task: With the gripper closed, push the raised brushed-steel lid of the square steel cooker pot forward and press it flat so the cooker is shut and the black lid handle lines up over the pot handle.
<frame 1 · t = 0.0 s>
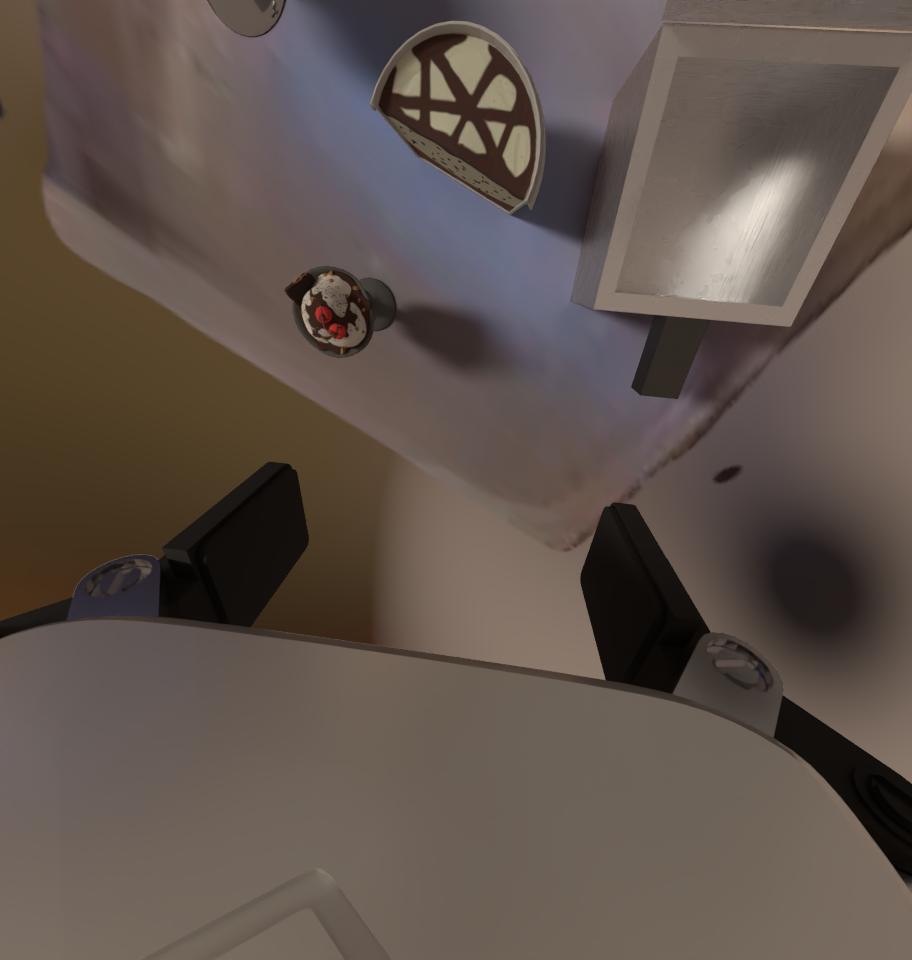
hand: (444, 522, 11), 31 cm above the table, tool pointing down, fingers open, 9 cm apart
cooker pot: (670, 218, 31), on the table
sundae: (373, 305, 37), on the table
food container: (481, 145, 30), on the table
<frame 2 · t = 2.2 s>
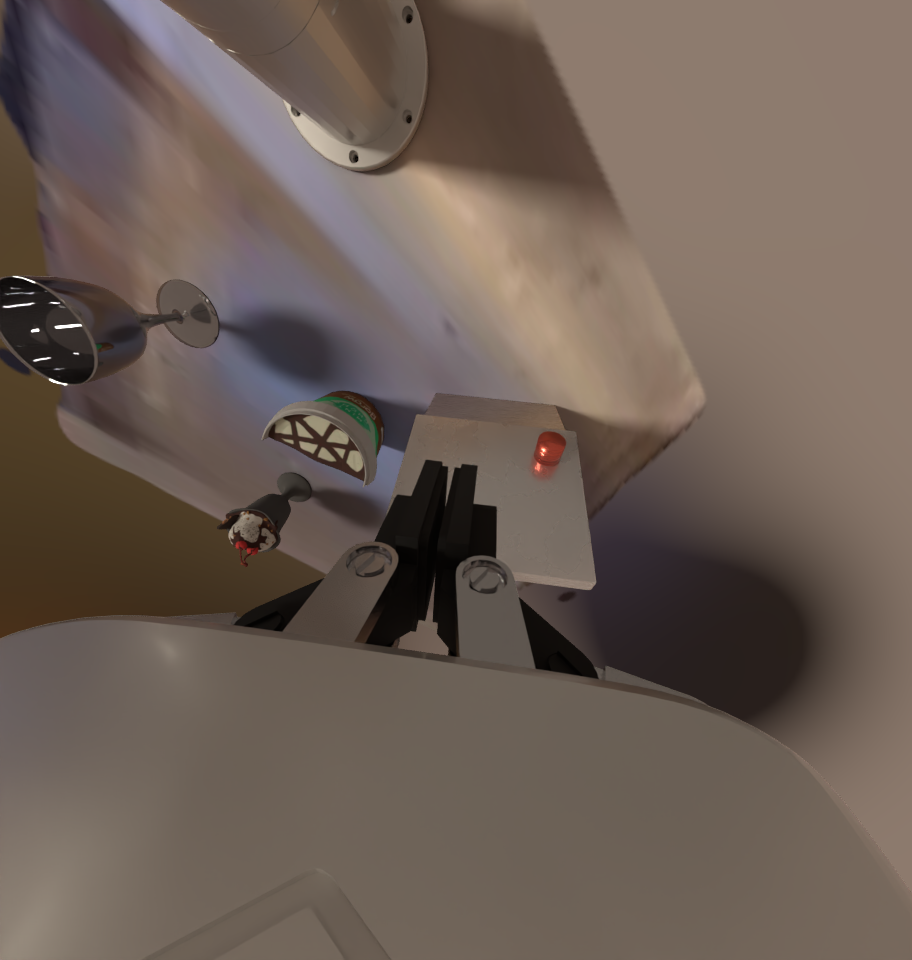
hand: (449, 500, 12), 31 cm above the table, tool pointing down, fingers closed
wine glass: (189, 315, 41), on the table
cooker pot: (487, 452, 45), on the table
sundae: (295, 486, 51), on the table
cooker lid: (488, 513, 25), point 20 cm above the table, hinge at 70.0°
food container: (356, 407, 44), on the table
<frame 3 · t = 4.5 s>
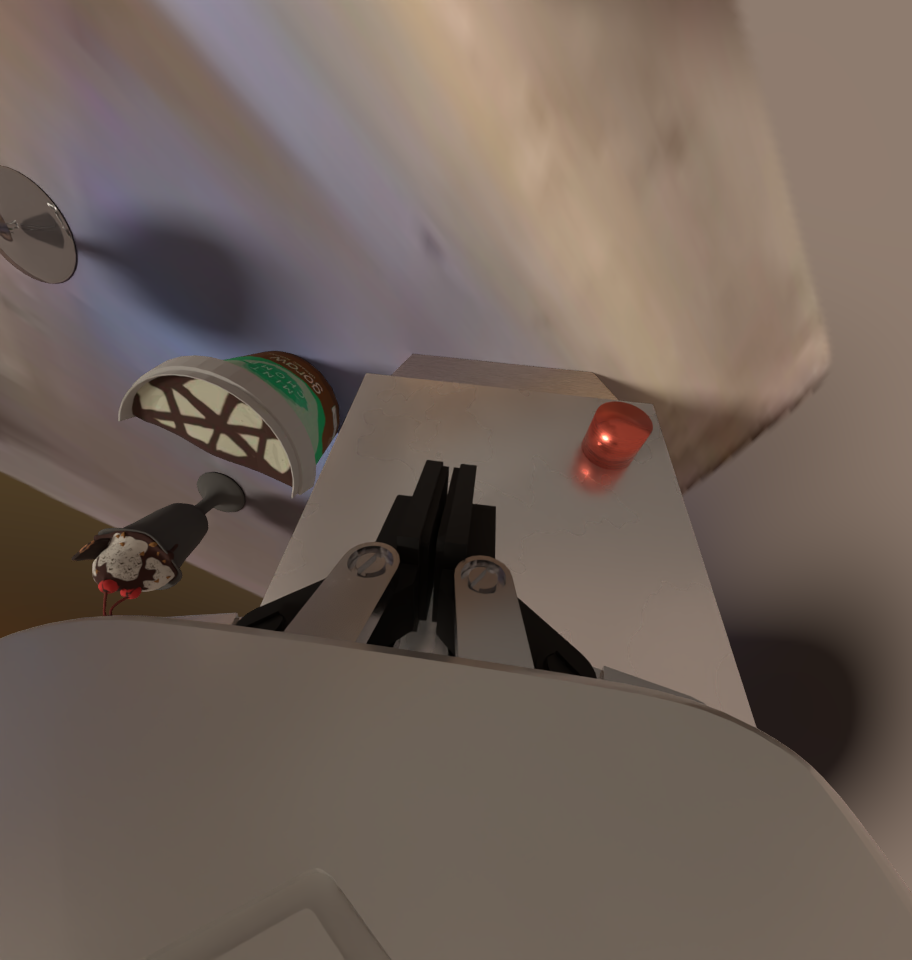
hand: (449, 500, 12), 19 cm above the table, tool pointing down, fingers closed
wine glass: (28, 228, 26), on the table
cooker pot: (490, 444, 31), on the table
sundae: (223, 491, 37), on the table
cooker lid: (496, 579, 11), point 20 cm above the table, hinge at 68.1°, touching gripper
food container: (296, 377, 30), on the table
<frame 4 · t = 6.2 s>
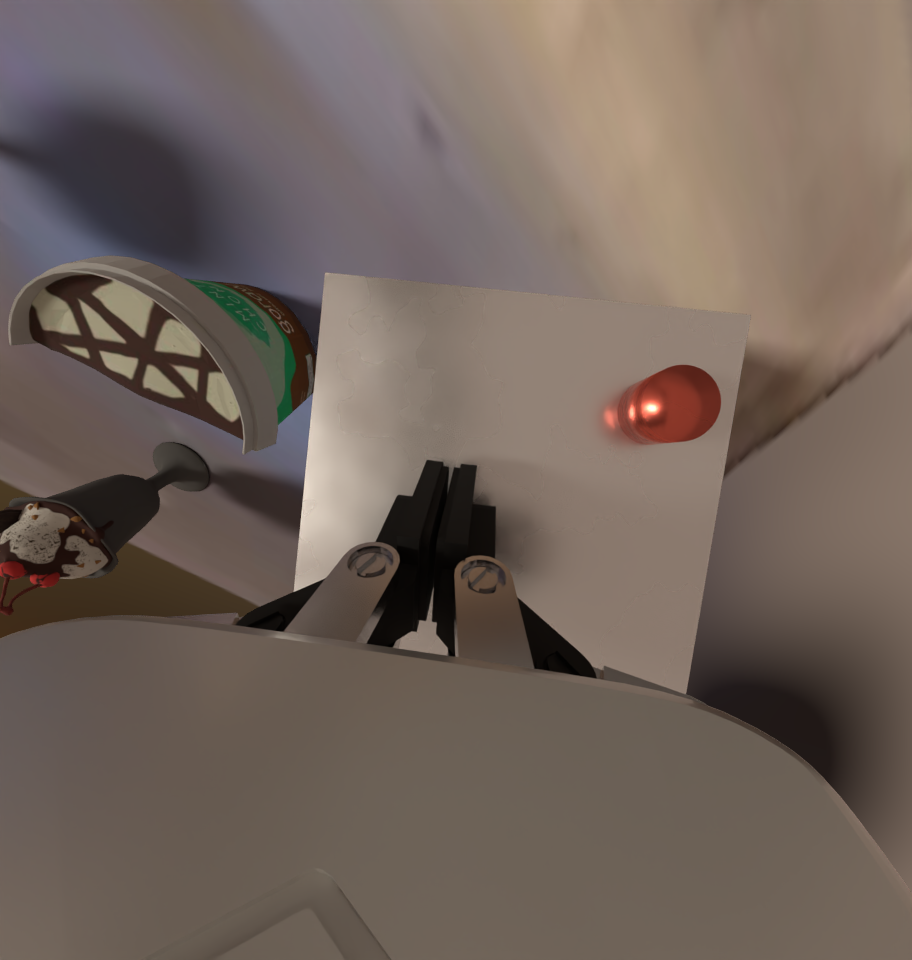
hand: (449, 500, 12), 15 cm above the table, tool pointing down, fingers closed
sundae: (184, 466, 32), on the table
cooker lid: (493, 585, 12), point 16 cm above the table, hinge at 26.7°, touching gripper
food container: (264, 319, 25), on the table
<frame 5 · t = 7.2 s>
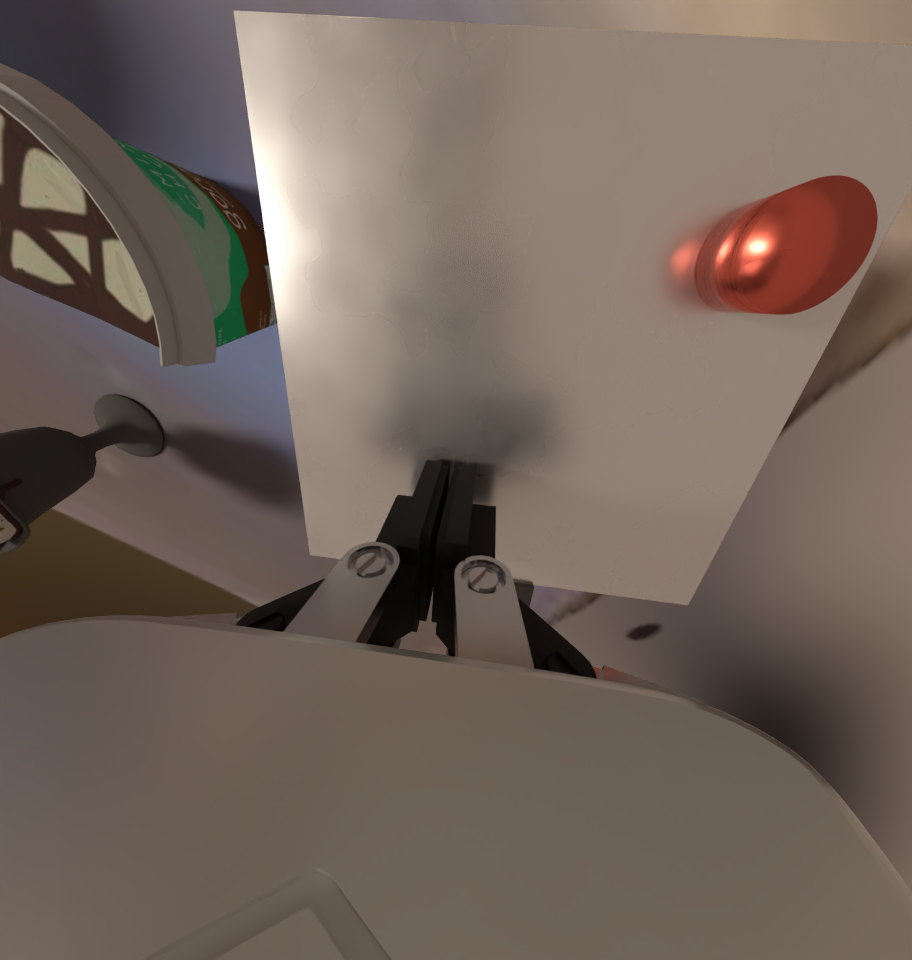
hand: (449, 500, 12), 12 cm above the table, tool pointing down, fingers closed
sundae: (133, 425, 26), on the table
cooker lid: (510, 489, 11), point 12 cm above the table, hinge at 3.4°
food container: (213, 223, 19), on the table
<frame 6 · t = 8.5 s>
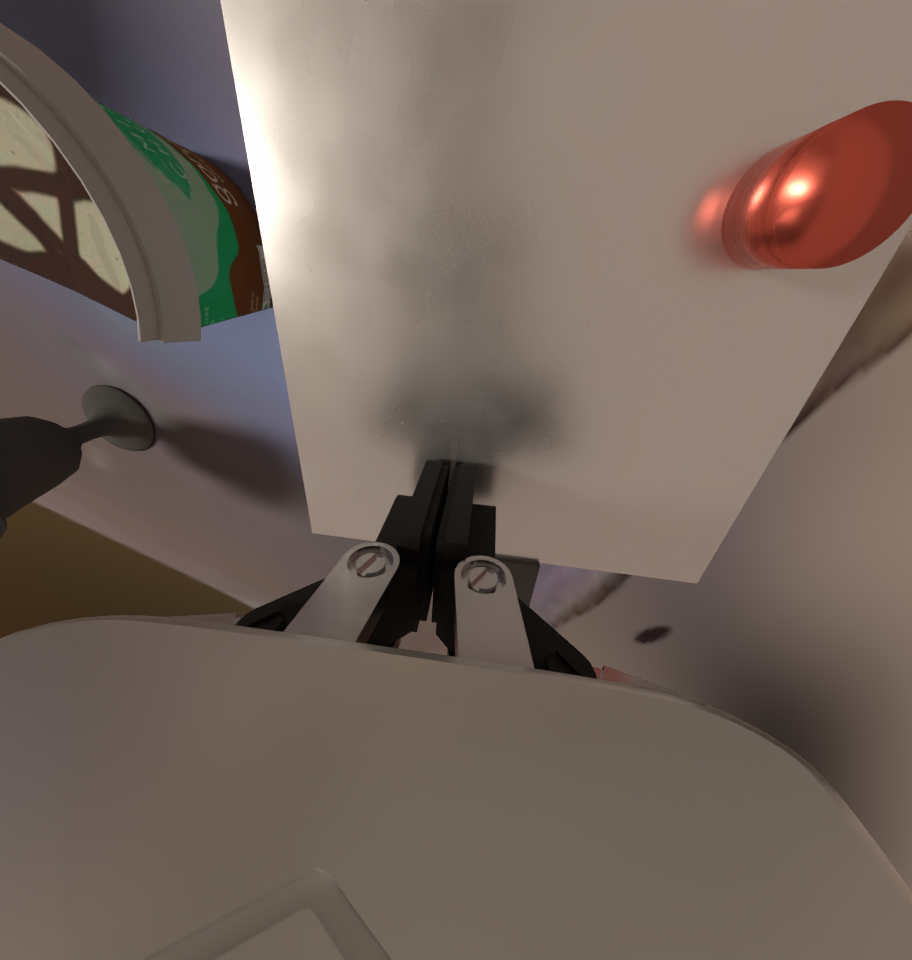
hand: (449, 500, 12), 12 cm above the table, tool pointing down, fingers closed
sundae: (123, 418, 25), on the table
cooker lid: (517, 464, 11), point 12 cm above the table, hinge at -0.5°
food container: (203, 202, 18), on the table
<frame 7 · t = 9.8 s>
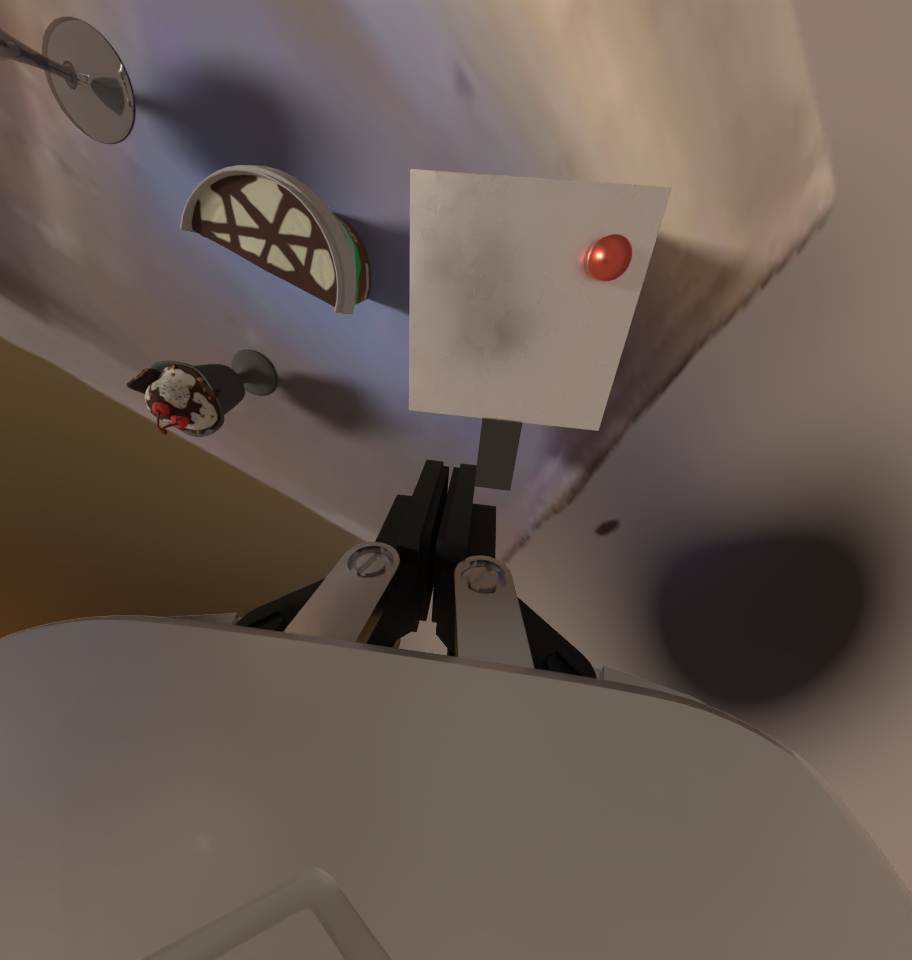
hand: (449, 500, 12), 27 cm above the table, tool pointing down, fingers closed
wine glass: (91, 85, 28), on the table
sundae: (256, 372, 39), on the table
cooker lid: (510, 365, 24), point 12 cm above the table, hinge at -0.5°
food container: (331, 238, 32), on the table
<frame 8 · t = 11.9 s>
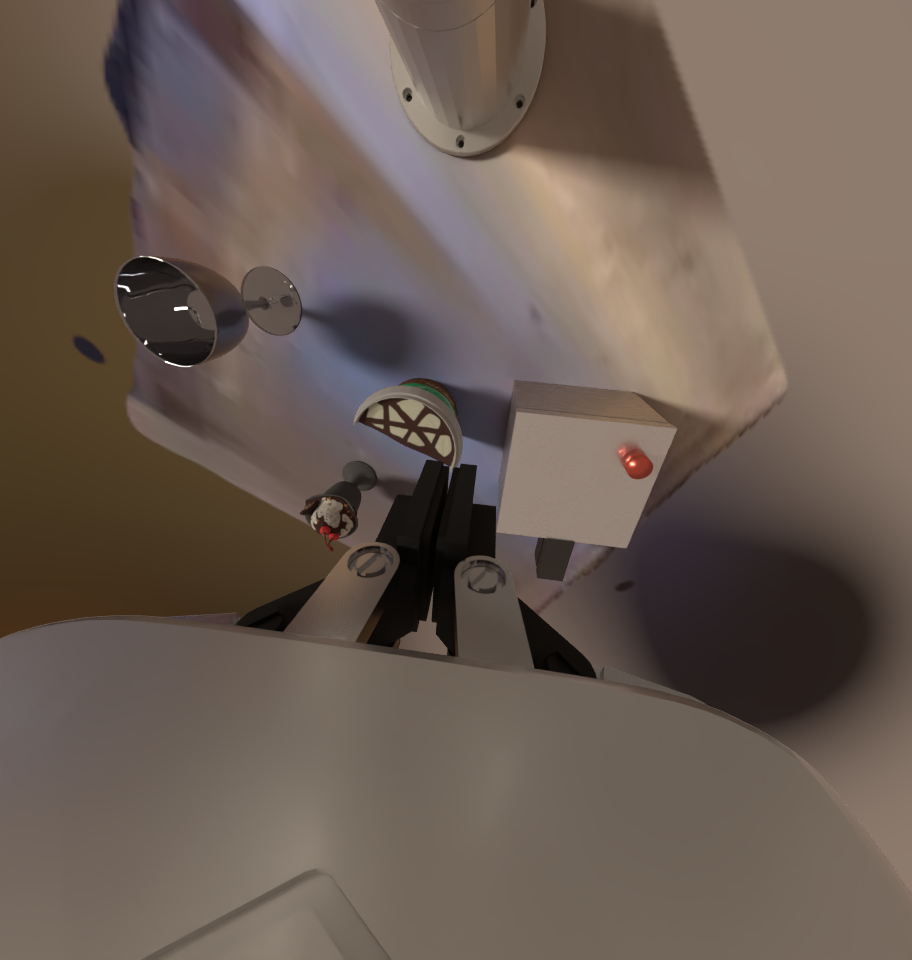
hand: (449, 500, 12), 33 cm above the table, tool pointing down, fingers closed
wine glass: (272, 302, 41), on the table
cooker pot: (560, 440, 45), on the table
sundae: (360, 475, 52), on the table
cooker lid: (570, 511, 37), point 12 cm above the table, hinge at -0.5°
food container: (431, 395, 44), on the table
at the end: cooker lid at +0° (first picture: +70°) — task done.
